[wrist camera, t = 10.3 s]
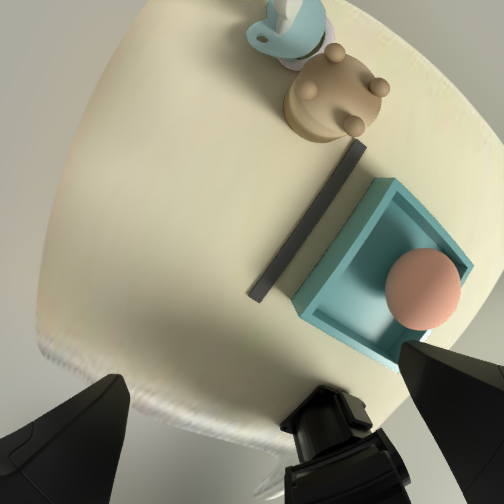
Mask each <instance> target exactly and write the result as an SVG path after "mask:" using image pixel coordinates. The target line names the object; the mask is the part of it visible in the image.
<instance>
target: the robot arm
mask: <svg viewBox="0 0 504 504" xmlns="http://www.w3.org/2000/svg"><path fill="white" fill-rule="evenodd" d="M398 368H399V371H400V373H401V375H402V377H403V379H404V382H405V384H406V386H407V388H408V391H409V393H410V395H411V397H412V399H413V402H414V403H415V405H416V407H417V409H418V411H419V412H420V414H421V416H422V418H423V419H424V421H425V423H426V425H427V426H428V428H429V430H430V432H431V433H432V435H433V437H434V439H435V441H436V443H437V444H438V446H439V448H440V450H441V452H442V454H443V456H444V457H445V459H446V461H447V463H448V465H449V467H450V469H451V471H452V473H453V475H454V477H455V479H456V481H457V483H458V485H459V487H460V489H461V491H462V493H463V495H464V497H465V500H466V502H467V504H504V366H501V365H497V364H494V363H490V362H487V361H483V360H480V359H476V358H473V357H469V356H466V355H463V354H459V353H456V352H453V351H449V350H446V349H443V348H440V347H436V346H433V345H430V344H427V343H424V342H420V341H417V340H414V339H412V340H408V341H405V342H403V343H402V345H401V349H400V354H399V359H398ZM321 390H323V391H321ZM320 391H321V392H320ZM129 405H130V393H129V391H128V388H127V386H126V383H125V381H124V378H123V376H122V375H120V374H108V375H107V376H105V377H103V378H102V379H100V380H99V381H97V382H96V383H94V384H92V385H91V386H89V387H88V388H86V389H84V390H83V391H81V392H80V393H79V394H77V395H75V396H73V397H72V398H70V399H69V400H67V401H65V402H64V403H62V404H60V405H59V406H57V407H55V408H54V409H52V410H50V411H49V412H47V413H46V414H44V415H42V416H41V417H39V418H37V419H36V420H34V422H33V421H32V422H31V423H29V424H27V425H26V426H24V427H22V428H20V429H18V430H17V431H15V432H13V433H11V434H9V435H7V436H5V437H3V438H1V439H0V504H109V501H110V496H111V492H112V487H113V483H114V478H115V474H116V470H117V466H118V462H119V458H120V453H121V450H122V446H123V442H124V437H125V432H126V425H127V418H128V411H129ZM365 407H366V405H365V403H364V402H362V401H360V400H359V399H358V398H356V397H354V396H352V395H349V394H347V393H344V392H338V391H335V390H333V389H331V388H329V387H326V386H319V387H318V388H317V389H316V390H315V391H314V392H313V393H312V394H311V395H310V396H309V397H308V398H307V399H306V400H305V401H304V402H303V403H302V404H301V405H300V406H299V407H298V408H297V409H296V410H295V411H294V412H293V413H292V414H291V415H290V416H289V417H288V418H287V419H285V420H284V421H283V422H282V423H281V424H280V430H281V431H284V432H287V433H290V434H293V437H294V441H295V445H296V449H297V453H298V458H299V462H300V464H298V465H295V466H289V467H286V468H285V475H284V486H285V504H411V501H410V499H409V497H408V494H407V492H406V490H405V486H407V485H408V484H410V483H411V480H410V476H409V474H408V471H407V469H406V466H405V464H404V462H403V460H402V458H401V456H400V455H399V453H398V451H397V450H396V448H395V447H394V446H393V444H392V443H391V441H390V440H389V438H388V437H387V436H386V434H385V432H384V431H383V429H382V428H380V429H378V430H376V432H374V433H372V432H371V431H370V429H371V428H372V427H373V424H372V422H371V420H370V418H369V416H368V415H367V413H366V411H365Z"/></svg>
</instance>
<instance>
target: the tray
mask: <svg viewBox="0 0 504 504" xmlns="http://www.w3.org/2000/svg"><path fill="white" fill-rule="evenodd" d="M418 248H431V249H435V250H438V251H440V252H442V253H443V254H445V255H446V256H447V257H448V258H449V259H450V260H451V261H452V262H453V263H454V265H455V267H456V269H457V271H458V274H459V277H460V282H461V287H462V286H463V284H464V282H465V281H466V279H467V277H468V275H469V274H470V272H471V270H472V268H473V267H474V265H473V264H472V262H471V261H470V260H469V258H468V257H467V256H466V255H465V253H464V252H463V251H462V250H461V248H460V247H459V246H458V245H457V243H456V242H455V241H454V240H453V239H452V237H451V236H450V235H449V234H448V233H447V232H446V230H445V229H444V228H443V227H442V226H441V225H440V224H439V222H438V221H437V220H436V219H435V218H434V217H433V216H432V215H431V214H430V213H429V211H428V210H427V209H426V208H425V207H424V206H423V205H422V204H421V203H420V202H419V201H418V200H417V199H416V198H415V197H414V196H413V195H412V194H411V193H410V192H409V191H408V190H407V189H406V188H405V187H404V186H403V185H402V184H401V183H400V182H399V181H398V180H397V179H396V178H375V179H374V180H373V182H372V184H371V185H370V187H369V188H368V190H367V191H366V193H365V195H364V196H363V198H362V199H361V201H360V202H359V204H358V205H357V207H356V208H355V210H354V211H353V213H352V214H351V216H350V217H349V219H348V220H347V222H346V223H345V225H344V226H343V228H342V229H341V231H340V232H339V234H338V235H337V237H336V238H335V239H334V241H333V242H332V244H331V245H330V247H329V248H328V250H327V251H326V252H325V254H324V255H323V257H322V258H321V260H320V261H319V262H318V264H317V265H316V267H315V268H314V269H313V271H312V272H311V273H310V275H309V276H308V278H307V279H306V280H305V282H304V283H303V284H302V286H301V287H300V289H299V290H298V291H297V293H296V294H295V295H294V297H293V298H292V299H291V301H292V303H293V305H294V307H295V310H296V312H297V314H298V316H299V318H301V319H303V320H304V321H306V322H308V323H310V324H311V325H313V326H315V327H316V328H318V329H320V330H322V331H323V332H325V333H327V334H329V335H330V336H332V337H334V338H336V339H337V340H339V341H341V342H343V343H344V344H346V345H348V346H350V347H351V348H353V349H355V350H357V351H358V352H360V353H362V354H364V355H366V356H367V357H369V358H371V359H373V360H375V361H376V362H378V363H380V364H382V365H384V366H386V367H387V368H389V369H391V370H393V371H395V372H397V373H399V372H400V371H399V368H398V359H399V354H400V349H401V345H402V343H403V342H405V341H408V340H412V339H414V340H417V341H420V342H424V341H425V340H426V339H427V337H428V336H429V335H430V333H431V332H432V331H433V329H434V328H433V329H430V330H424V331H423V330H413V329H410V328H407V327H405V326H403V325H402V324H400V323H399V322H398V321H397V320H396V319H395V318H394V317H393V315H392V314H391V312H390V310H389V308H388V306H387V302H386V298H385V284H386V279H387V276H388V273H389V271H390V269H391V267H392V266H393V264H394V263H395V262H396V261H397V260H398V259H399V258H400V257H401V256H402V255H403V254H405V253H407V252H409V251H411V250H414V249H418Z"/></svg>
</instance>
